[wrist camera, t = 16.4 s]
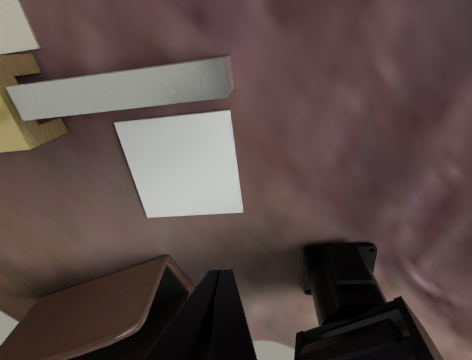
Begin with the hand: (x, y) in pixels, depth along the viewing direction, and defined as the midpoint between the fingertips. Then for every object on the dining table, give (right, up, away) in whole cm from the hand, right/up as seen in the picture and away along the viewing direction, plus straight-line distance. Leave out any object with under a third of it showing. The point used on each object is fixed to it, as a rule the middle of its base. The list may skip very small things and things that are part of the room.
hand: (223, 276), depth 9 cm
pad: (-4, +4, +12) cm, 13 cm away
